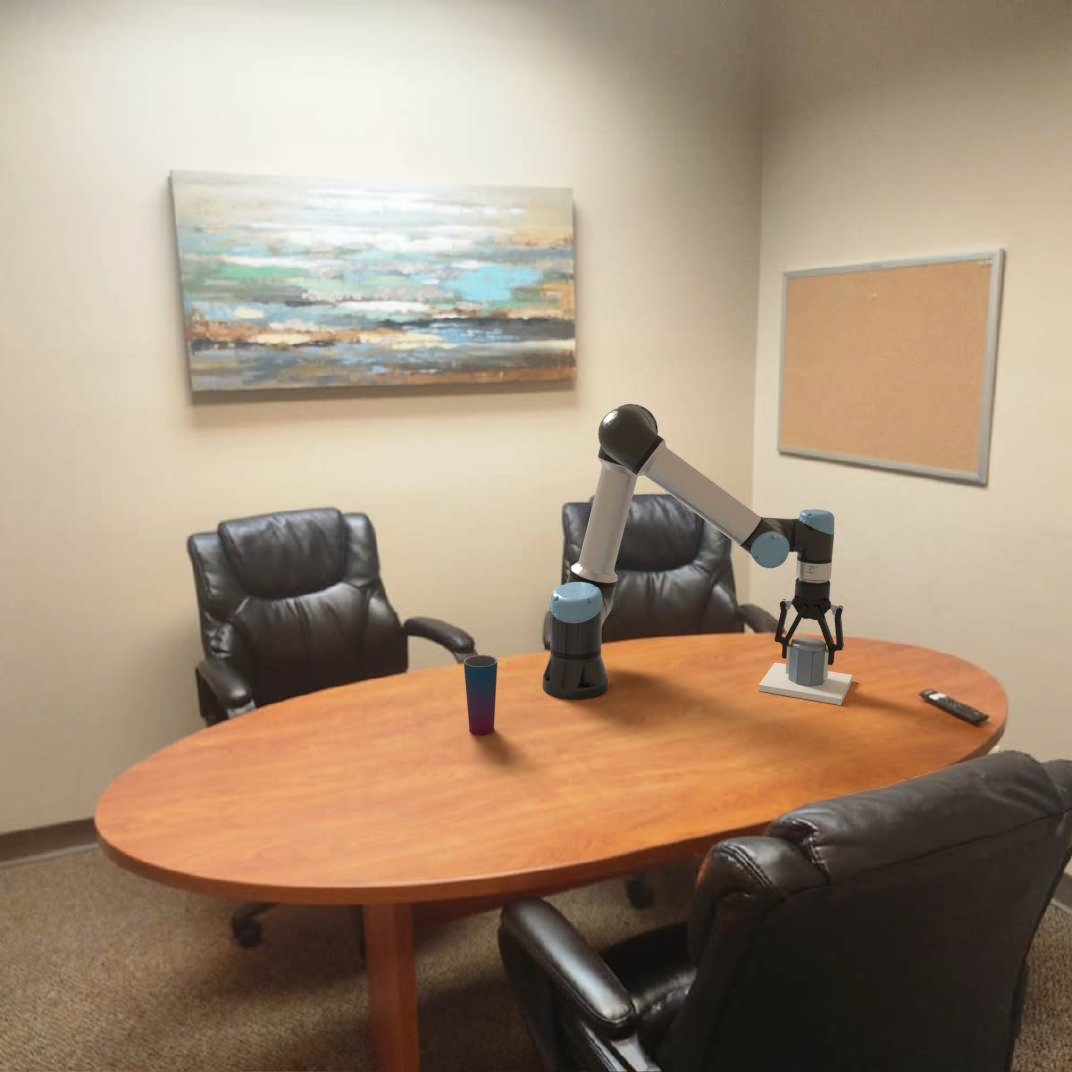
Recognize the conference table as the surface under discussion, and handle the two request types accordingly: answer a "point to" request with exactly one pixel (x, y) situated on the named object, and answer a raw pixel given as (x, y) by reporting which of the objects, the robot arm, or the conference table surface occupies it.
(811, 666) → the cap
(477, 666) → the cup
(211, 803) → the conference table surface
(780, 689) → the stud board
